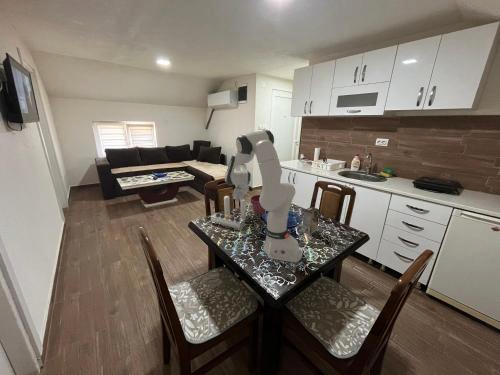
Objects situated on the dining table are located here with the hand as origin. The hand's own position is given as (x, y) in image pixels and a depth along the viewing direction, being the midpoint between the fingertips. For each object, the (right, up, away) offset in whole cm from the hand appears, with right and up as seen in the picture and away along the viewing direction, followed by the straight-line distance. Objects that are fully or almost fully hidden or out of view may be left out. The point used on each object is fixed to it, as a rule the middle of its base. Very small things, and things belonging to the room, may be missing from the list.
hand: (241, 200), depth 166 cm
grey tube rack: (-9, -16, -15) cm, 24 cm away
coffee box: (+47, -19, -24) cm, 56 cm away
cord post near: (+2, -14, -9) cm, 16 cm away
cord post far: (-11, -12, -3) cm, 16 cm away
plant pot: (+15, -10, +4) cm, 18 cm away
